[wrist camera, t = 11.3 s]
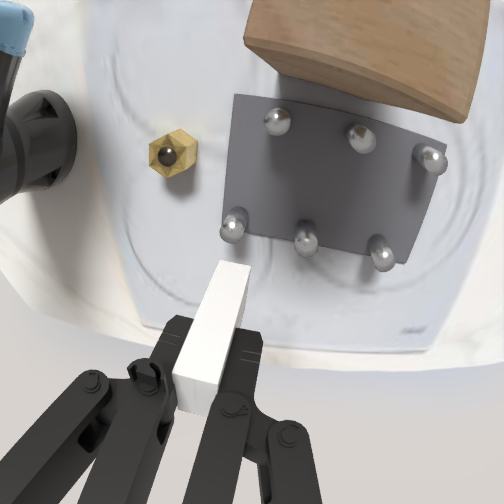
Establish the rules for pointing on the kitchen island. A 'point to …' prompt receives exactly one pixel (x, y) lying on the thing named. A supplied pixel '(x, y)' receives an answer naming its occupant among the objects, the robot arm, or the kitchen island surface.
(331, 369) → the kitchen island surface
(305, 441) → the robot arm
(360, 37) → the wooden block
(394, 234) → the grey flat plate
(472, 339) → the kitchen island surface
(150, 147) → the nut
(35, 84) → the kitchen island surface
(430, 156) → the set of silver pegs
